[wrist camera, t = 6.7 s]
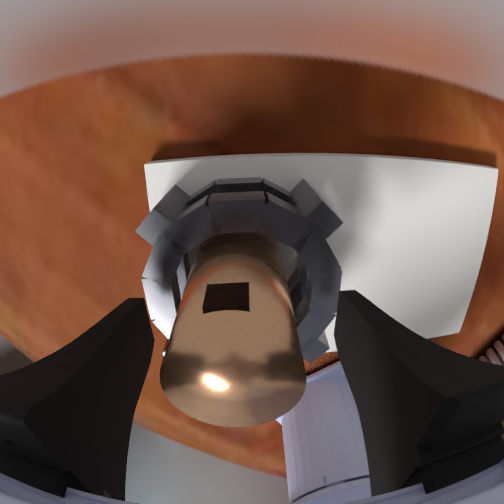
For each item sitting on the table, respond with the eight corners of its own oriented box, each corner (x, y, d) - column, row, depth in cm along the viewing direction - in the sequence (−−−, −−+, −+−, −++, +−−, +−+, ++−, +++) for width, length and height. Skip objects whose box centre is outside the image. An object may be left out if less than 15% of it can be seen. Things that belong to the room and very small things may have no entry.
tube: (279, 281, 17) (303, 422, 9) (205, 286, 17) (177, 426, 9) (277, 207, 15) (310, 323, 7) (194, 213, 15) (141, 330, 7)
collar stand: (323, 175, 15) (347, 197, 11) (315, 315, 18) (330, 362, 14) (156, 183, 15) (128, 207, 11) (177, 320, 18) (164, 368, 14)
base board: (488, 165, 15) (498, 169, 14) (453, 324, 20) (459, 332, 19) (150, 161, 15) (144, 164, 14) (180, 347, 20) (177, 357, 19)
